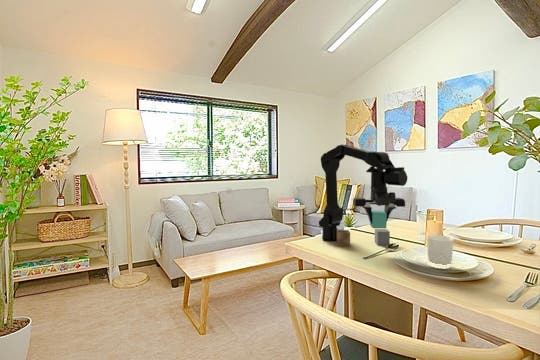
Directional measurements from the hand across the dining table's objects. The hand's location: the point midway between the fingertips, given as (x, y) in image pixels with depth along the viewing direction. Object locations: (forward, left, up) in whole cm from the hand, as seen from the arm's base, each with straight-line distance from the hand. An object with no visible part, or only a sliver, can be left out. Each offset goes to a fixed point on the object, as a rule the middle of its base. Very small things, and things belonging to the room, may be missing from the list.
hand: (378, 223), depth 123 cm
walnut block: (-12, +10, -12) cm, 19 cm away
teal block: (0, 0, -1) cm, 1 cm away
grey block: (+5, +13, -12) cm, 18 cm away
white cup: (+17, -15, -12) cm, 26 cm away
